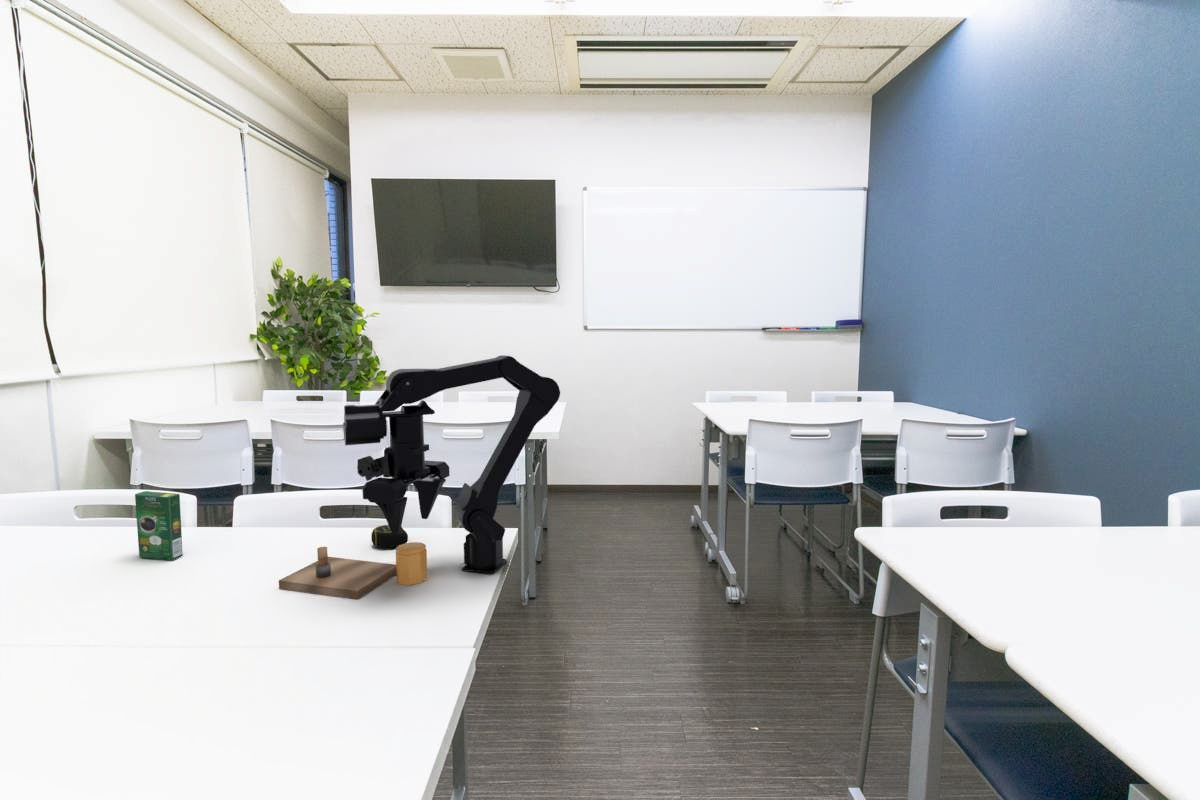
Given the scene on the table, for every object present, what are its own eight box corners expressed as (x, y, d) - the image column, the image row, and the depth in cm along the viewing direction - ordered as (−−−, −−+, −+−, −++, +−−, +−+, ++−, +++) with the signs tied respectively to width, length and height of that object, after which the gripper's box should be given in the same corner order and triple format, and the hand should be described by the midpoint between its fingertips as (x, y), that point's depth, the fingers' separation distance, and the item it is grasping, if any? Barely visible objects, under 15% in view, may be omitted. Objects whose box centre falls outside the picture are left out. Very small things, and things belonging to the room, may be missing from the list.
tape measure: (409, 547, 129) (408, 530, 129) (374, 553, 126) (373, 535, 125) (402, 538, 135) (402, 521, 135) (369, 543, 132) (368, 526, 131)
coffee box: (185, 556, 124) (180, 492, 122) (173, 561, 121) (168, 496, 120) (151, 553, 125) (146, 490, 124) (138, 558, 123) (132, 494, 121)
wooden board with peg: (399, 572, 115) (398, 538, 115) (357, 599, 104) (355, 562, 103) (326, 563, 120) (325, 531, 119) (279, 588, 108) (276, 552, 107)
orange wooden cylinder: (432, 575, 114) (431, 543, 113) (416, 586, 109) (415, 553, 108) (407, 572, 115) (406, 541, 115) (391, 583, 111) (390, 550, 110)
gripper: (398, 430, 121) (401, 508, 122) (332, 448, 103) (337, 539, 105) (449, 432, 118) (452, 512, 119) (390, 451, 100) (395, 545, 102)
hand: (410, 526), depth 111 cm, fingers open, 9 cm apart
